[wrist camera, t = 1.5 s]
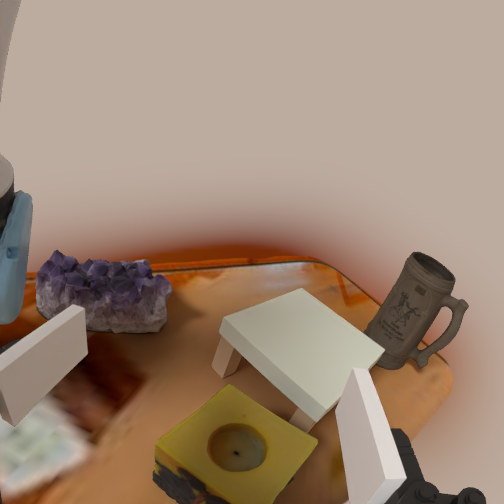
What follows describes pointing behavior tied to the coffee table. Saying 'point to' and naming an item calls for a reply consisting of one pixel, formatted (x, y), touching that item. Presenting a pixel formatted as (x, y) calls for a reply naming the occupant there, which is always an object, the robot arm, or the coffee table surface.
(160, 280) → the geode
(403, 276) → the beer stein
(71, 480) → the coffee table surface
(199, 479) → the candle
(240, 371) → the coffee table surface
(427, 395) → the coffee table surface
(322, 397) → the footstool
